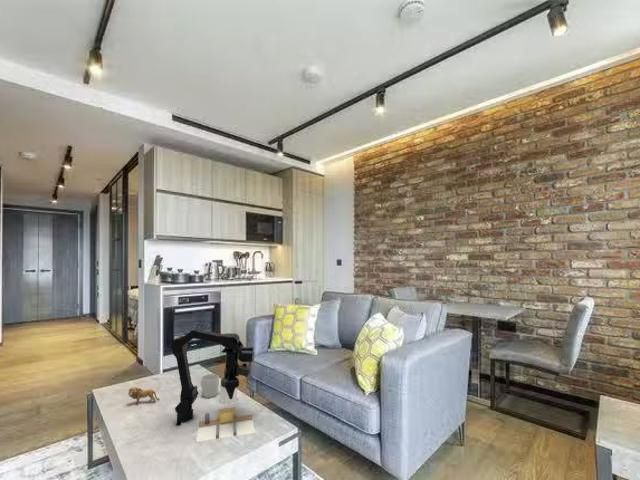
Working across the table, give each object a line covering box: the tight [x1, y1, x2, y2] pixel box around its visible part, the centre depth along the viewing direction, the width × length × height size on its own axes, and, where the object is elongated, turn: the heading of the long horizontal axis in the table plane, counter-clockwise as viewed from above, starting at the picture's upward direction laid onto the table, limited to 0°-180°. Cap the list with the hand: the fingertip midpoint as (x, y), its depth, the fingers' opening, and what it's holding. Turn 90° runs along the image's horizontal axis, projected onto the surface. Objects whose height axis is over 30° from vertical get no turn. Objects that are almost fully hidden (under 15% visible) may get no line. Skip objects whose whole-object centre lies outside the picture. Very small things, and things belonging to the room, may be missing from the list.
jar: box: [219, 377, 238, 405], centre depth 168 cm, size 9×8×12 cm
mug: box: [200, 373, 220, 399], centre depth 177 cm, size 13×9×10 cm
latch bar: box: [216, 406, 236, 425], centre depth 147 cm, size 8×4×4 cm, turn 106°
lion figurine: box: [128, 386, 160, 406], centre depth 167 cm, size 15×5×9 cm, turn 113°
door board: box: [195, 413, 256, 443], centre depth 142 cm, size 24×16×5 cm
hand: (230, 394), depth 150 cm, fingers open, 9 cm apart
